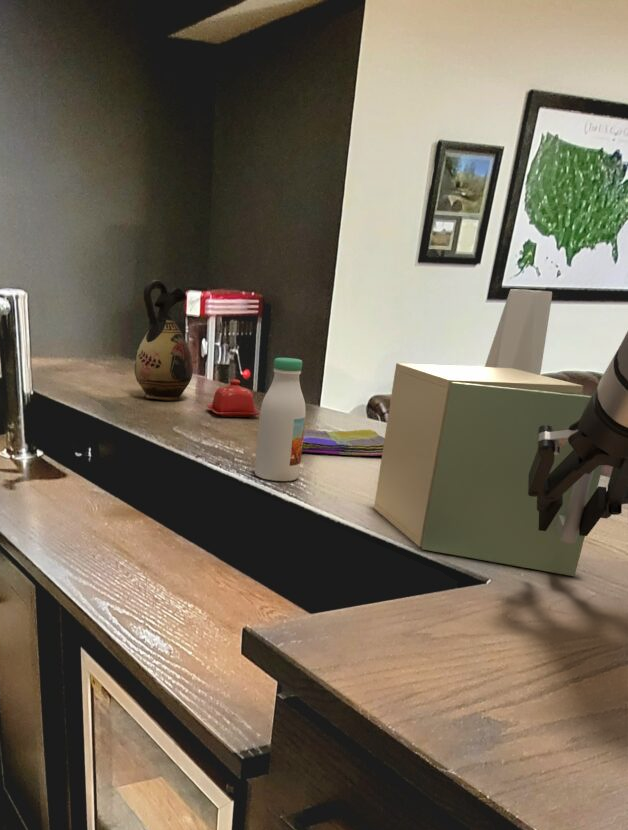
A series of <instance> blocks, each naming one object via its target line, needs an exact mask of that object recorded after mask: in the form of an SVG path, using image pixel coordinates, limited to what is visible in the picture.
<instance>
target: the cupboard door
mask: <svg viewBox="0 0 628 830" xmlns="http://www.w3.org/2000/svg"><path fill="white" fill-rule="evenodd" d="M591 396H592V395H583V394H581V395H575V394H566V393H556V392H546V391H537V390H527V389H517V388H508V387H498V386H488V385H478V384H469V383H459V382H452V384H451V390H450V395H449V401H448V406H447V412H446V417H445V423H444V428H443V434H442V440H441V445H440V451H439V456H438V462H437V467H436V473H435V479H434V484H433V490H432V495H431V501H430V506H429V512H428V517H427V523H426V529H425V534H424V540H423V545H422V547H421V550H425V551H430V552H435V553H442V554H447V555H451V556H458V557H463V558H469V559H474V560H480V561H485V562H491V563H498V564H502V565H508V566H515V567H519V568H525V569H530V570H531V569H532V570H536V571H540V572H541V571H542V572H547V573H553V574H559V575H564V576H569V577H575V576H576V573H577V570H578V564H579V561H580V557H581V553H582V550H583V546H584V541H585V537H586V536H581V535H579V527H580V523H581V519H582V515H583V511H584V507H585V505H586V504H587V502H588V501H589V500H590V498H591V497H592V495H593V494H594V492H595V491H596V489H597V488H598V486H599V483H600V479H601V475H602V472H603V467H604V465H599V466H598V467H596V468H595V469H594V470H593V471H592V472H591V473H590V474H584V475H583V476H582V477H581V478H580V479H579V480H578V481H577V482H576V483H574V484H573V485H572V486H571V487H570V488H569V489H568V490H567V491H566V492H565V493H564V494H563V505H562V506H561V508H560V509H559V511H558V513H557V514H556V516H555V517H554V519H553V521H552V522H551V524H550V525H549V527H548V528H547V530H546V531H540V530H539V511H537V497H538V496H537V497H532V496H529V495H528V480H529V472H530V469H531V466H532V464H533V461H534V458H535V455H536V453H537V450H538V429H539V427H540V426H543V425H549V426H551V427H552V429H553V431H561V430H568V429H569V427H570V425H571V424H573V423H574V422H576V421H578V420H579V419H580V418H581V416H582V414H583V411H584V409H585V407H586V405H587V404H588V402H589V400H590V398H591ZM573 450H574V449H573V448H572V446H571V445H570V444H569V443H568V444H565V445H564V446H563V448H562V449H561V450H560V454H559V455H555V458H554V463H553V466H552V468H551V470H550V473H551V472H552V471H553V470H554V469H555V468H556V467H557V466H558V465H559V464H560V463H561V462H562V461H563V460H564V459H565V458H566V457H567V456H568V455H569V454H570V453H571V452H572V451H573Z"/></svg>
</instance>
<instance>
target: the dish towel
mask: <svg viewBox="0 0 628 830" xmlns="http://www.w3.org/2000/svg"><path fill="white" fill-rule="evenodd" d="M384 440H385V437H383V436H382V435H379V434H378V433H377V432H376V430H375V431H374V430H372V429H359V430H356V429H355V430H347V431H344V430H342V431H340V430H339V431H337V430H333V431H327V430H315V429H308V428H307V429H306V428H304V436H303V445H302V453H317V454H327V455H329V454H330V455H342V456H343V455H346V456H364V457H365V456H366V457H371V456H372V457H374V456H375V457H382V453H383V446H384Z"/></svg>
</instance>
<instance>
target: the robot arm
mask: <svg viewBox="0 0 628 830" xmlns="http://www.w3.org/2000/svg"><path fill="white" fill-rule="evenodd" d="M590 396H591V398H590V400H589V402H588V404H587V405H586V407H585V409H584V411H583V414H582V416H581V418H580V419H579V420H578V421H576V422H574V423H573V424H571V425H570V427H569V429H568V430H561V431H553V429H552V427H551V426H549V425H543V426H540V427H539V429H538V450H537V453H536V455H535V458H534V461H533V464H532V466H531V469H530V472H529V480H528V495H529V496H532V497H537V496H538V497H537V511H539V530H540V531H546V530H547V528H548V527H549V525H550V524H551V522H552V521H553V519H554V517H555V516H556V514H557V513H558V511H559V509H560V508H561V506H562V505H563V494H564V493H565V492H566V491H567V490H568V489H569V488H570V487H571V486H572V485H573V484H574V483H576V482H577V481H578V480H579V479H580V478H581V477H582V476H583V475H584V474H590V473H591V472H592V471H593V470H594V469H595V468H596V467H598V466H599V465H603V466H608V467H612V469H611V472H610V476H609V480H608V483H607V487H606V486H599V485H598V487H597V489H596V491H595V492H594V494H593V495H592V497H591V498H590V500H589V501H588V502H587V504H586V505H585V507H584V511H583V515H582V519H581V523H580V527H579V535H581V536H585V537H588V536H589V534H590V533H591V531H592V530H593V529H594V527H595V526H596V524H597V523H598V522H599V521H600V520H601V519H606V520H607V519H608V518H610V517H611V516H618V515H621V514H622V512H623V511H622V510H623V509H622V507H623V505H628V330H627V331H626V333H625V335H624V337H623V340H622V341H621V342H620V345H619V346H618V349H616V351H615V353H614V355H613V357H612V359H611V361H610V362H609V363H608V366H607V367H606V369H605V371H604V373H602V376H601V378H600V380H599V383H598V385H597V386H596V387H595V389H594V391H593V393H592V395H590ZM568 443H569V444H570V445H571V446H572V448H573V449H574V450H573V451H572V452H571V453H570V454H569V455H568V456H567V457H566V458H565V459H564V460H563V461H562V462H561V463H560V464H559V465H558V466H557V467H556V468H555V469H554V470H553V471H552V472H551V473H550V470H551V468H552V466H553V463H554V458H555V455H559V454H560V450H561V449H562V448H563V446H564V445H565V444H568Z"/></svg>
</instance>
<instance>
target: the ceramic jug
mask: <svg viewBox="0 0 628 830" xmlns="http://www.w3.org/2000/svg"><path fill="white" fill-rule="evenodd" d="M156 289H157V290H160V294H159V296H158V297H157V299H156V300H155V302H154V303H153V299H152V291H153V290H156ZM186 300H187V295H186V293H185V291H183V290H182V289H181V288H180V287H179V286H175V287H174V288H173V287H170V288H169V289H168V286H167V284H165V282H163V281H161V280H159V279H151V280H149V281H148V282H146V283H145V286H144V288H143V301H144V305H145V309H146V312H147V318H148V320H149V321H148V323H149V326H148V331H147V332H146V334H145V335H144V337H143V339H142V340H141V342H140V344H139V347H138V348H137V352H136V355H135V360H134V376H135V380H136V382H137V383H138V385H139V386H140V387H141V390H142V391H143V392H144V393H145V398H146V399H154V400H161V401H181V396H182V395H183V393H184V392H185V390H186V389H187V388H188V386H189V384H190V383H191V380H192V378H193V372H194V365H193V357H192V354H191V350H190V347H189V345H188V343H187V341H186V339H185V337H184V335H183V333H182V331H181V330H180V327H179V326H178V324H177V323H176V321H175V320H174V318H173V313H172V309H173V308H174V307H175V306H177V305H179V304H181V303H183V302H185V301H186ZM154 307H157V308H158V313H157V315H156V312H155V309H154ZM136 401H137V400H136Z"/></svg>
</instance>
